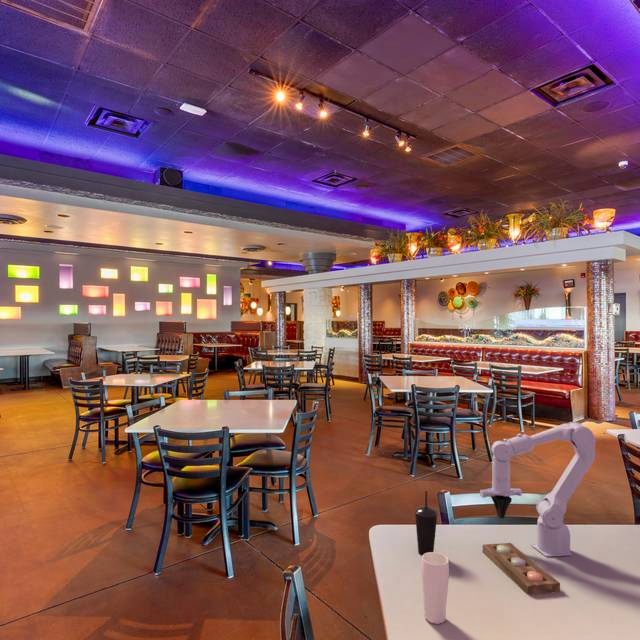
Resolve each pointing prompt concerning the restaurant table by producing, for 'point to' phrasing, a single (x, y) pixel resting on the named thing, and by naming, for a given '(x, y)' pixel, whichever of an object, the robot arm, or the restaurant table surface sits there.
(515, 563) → the grey button
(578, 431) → the robot arm
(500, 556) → the panel
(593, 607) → the restaurant table surface
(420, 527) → the drinking cup
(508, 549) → the sage button
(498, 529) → the restaurant table surface
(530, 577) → the terracotta button
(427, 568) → the drinking glass
